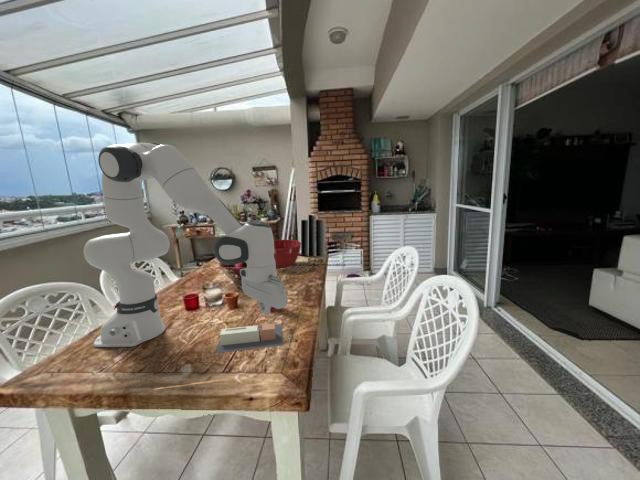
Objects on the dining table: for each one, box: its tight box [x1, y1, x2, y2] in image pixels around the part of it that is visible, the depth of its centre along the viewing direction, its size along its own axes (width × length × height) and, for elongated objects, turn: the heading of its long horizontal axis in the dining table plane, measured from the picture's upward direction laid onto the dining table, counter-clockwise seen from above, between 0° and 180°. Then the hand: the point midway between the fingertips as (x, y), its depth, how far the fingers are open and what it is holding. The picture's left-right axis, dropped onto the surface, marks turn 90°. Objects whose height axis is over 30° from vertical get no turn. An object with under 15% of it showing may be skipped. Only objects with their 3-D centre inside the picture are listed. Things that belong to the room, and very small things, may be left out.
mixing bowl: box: [274, 239, 302, 270], centre depth 191 cm, size 28×28×16 cm
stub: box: [260, 323, 276, 341], centre depth 102 cm, size 5×4×4 cm
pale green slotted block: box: [219, 324, 261, 346], centre depth 100 cm, size 13×4×4 cm, turn 99°
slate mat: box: [215, 324, 284, 354], centre depth 102 cm, size 22×15×1 cm
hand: (265, 313), depth 92 cm, fingers closed
